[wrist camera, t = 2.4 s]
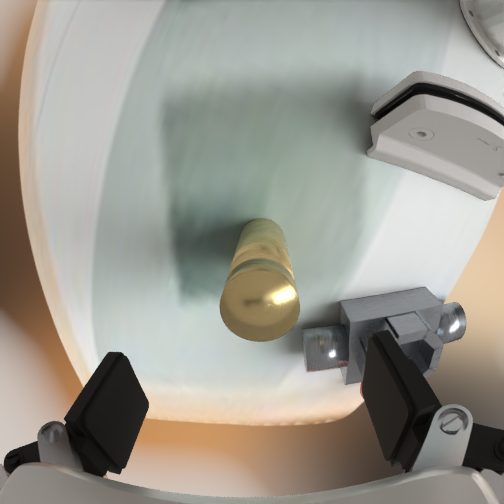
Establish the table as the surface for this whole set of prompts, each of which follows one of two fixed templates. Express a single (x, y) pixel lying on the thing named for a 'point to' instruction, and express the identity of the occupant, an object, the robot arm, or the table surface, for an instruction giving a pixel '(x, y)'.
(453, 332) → the valve body
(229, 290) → the brass cylinder
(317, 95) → the table surface
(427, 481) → the robot arm
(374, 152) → the white slotted block
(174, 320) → the table surface
